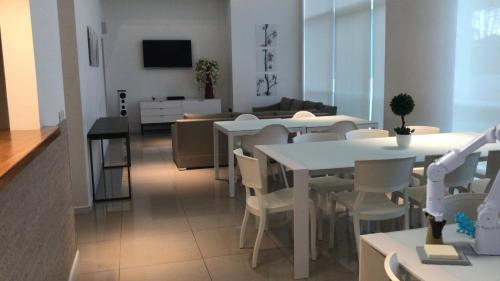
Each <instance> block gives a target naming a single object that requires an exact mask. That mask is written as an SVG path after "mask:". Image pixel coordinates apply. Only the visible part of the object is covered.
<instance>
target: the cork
mask: <svg viewBox="0 0 500 281" xmlns="http://www.w3.org/2000/svg"><path fill="white" fill-rule="evenodd" d="M434 217H435V216H433V215H431V214H430V215H428V217H427V218H426V222H427V233H426V238H425V243H424V244H427V245H444V238H443V237H444V236H443V232H442V233H441V237H440V239H433V235H432V228H431V224H430V222H429V220H428V218H434ZM442 220H444V219H443V217H442Z"/></svg>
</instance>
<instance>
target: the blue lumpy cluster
mask: <svg viewBox="0 0 500 281" xmlns="http://www.w3.org/2000/svg"><path fill="white" fill-rule="evenodd" d="M454 217H455V218H454V221H455V222H456V225H457V229H455V232H456V233H460V231H462V233H466V235H467V236H468V237H470V236H471V237H474V238H475V228H476V222H477V221H476V220H473V221H471V220H472V218H471V216H467V214H466V213H461V211H459V212H457V214H455V215H454ZM466 231H467V232H466Z"/></svg>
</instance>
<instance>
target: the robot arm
mask: <svg viewBox="0 0 500 281" xmlns="http://www.w3.org/2000/svg"><path fill="white" fill-rule="evenodd" d="M497 141H498V142H499V143H500V121H499V122H497V123H496V124H495V125H492V126H490V127H488V128H487V129H485V130H484V131H482V132H481V133H480V134H478V135H477V136H475V137H474V138H473V139H472V140H470V141H469V142H468V143H466V144H465V145H463V146H462V147H461V148H452V149H448V150H447V151H446V153H445V154H444V155H443V156H441V157H440V158H436V159H435V160H434V162H432V163H430V164H429V165H428V167H427V169H426V177H427V179H426V182H427V183H426V199H425V200H426V204H425V205H426V208H422V212H423V213H424V214H425V218H426V219H427V217H428V215H430V214H431V215H433V216H435V217H434V218H428V220H429V222H430V224H431V228H432V235H433V239H440V237H441V233H442V234H443V229H444V227H445V226H446V224H447V220H446V219H443V220H442V218H443V215H444V214H445V183H444V182H445V177H446V174H450V173H451V172H452V171H454V170H456V169H457V168H459V167H460V166H462V165H463V164H465V162H466V158H467V156H469V155H470V154H472V153H474V152H476V151H477V150H479V149H481V148H482V147H484V146H485V145H487V144H497ZM476 212H477V221H476V223H475V227H476V228H475V236H474V244H471V245H470V247H471V249H473V250H474V252H475V253H476V255H490V256H491V255H492V256H500V223H499V222H500V217H499V216H500V215H499V214H500V169H498V172H497V174H496V177H495V179H494V180H493V183H492V185H491V188H490V190H489V191H488V195H487V196H486V197H485V199H484V201H483V202H482V203H481V204H479V205H478V206H477V210H476Z"/></svg>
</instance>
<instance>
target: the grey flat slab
mask: <svg viewBox="0 0 500 281" xmlns="http://www.w3.org/2000/svg"><path fill="white" fill-rule="evenodd" d="M415 251H416V253H417V256H418V258H419V260H420V263H421V264H429V265H430V264H431V265H454V266H457V265H458V266H469V260H468V259H467V257H466V256H465V254H464V253H463V252H462V250H461V248H460V247H454V246H453V244H443V245H427V244H425V243H424V245H423V246H421V245H420V246H419V245H416V246H415Z"/></svg>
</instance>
